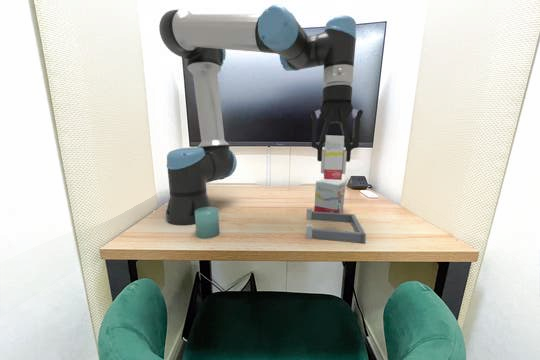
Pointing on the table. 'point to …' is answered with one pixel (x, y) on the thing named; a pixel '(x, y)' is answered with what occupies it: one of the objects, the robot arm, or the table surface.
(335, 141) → the ink box
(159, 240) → the table surface
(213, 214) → the teal rounded cylinder
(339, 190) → the ink box
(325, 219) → the u-shaped handle bar
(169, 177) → the robot arm
